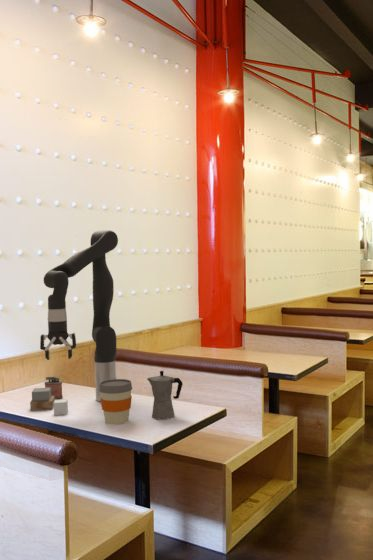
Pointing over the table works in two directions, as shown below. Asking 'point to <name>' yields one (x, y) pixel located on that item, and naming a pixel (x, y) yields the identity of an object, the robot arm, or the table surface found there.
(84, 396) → the table surface
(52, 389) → the lighter
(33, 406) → the walnut block
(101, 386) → the reusable coffee cup
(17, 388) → the table surface
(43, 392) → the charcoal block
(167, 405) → the coffeepot
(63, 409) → the top block
